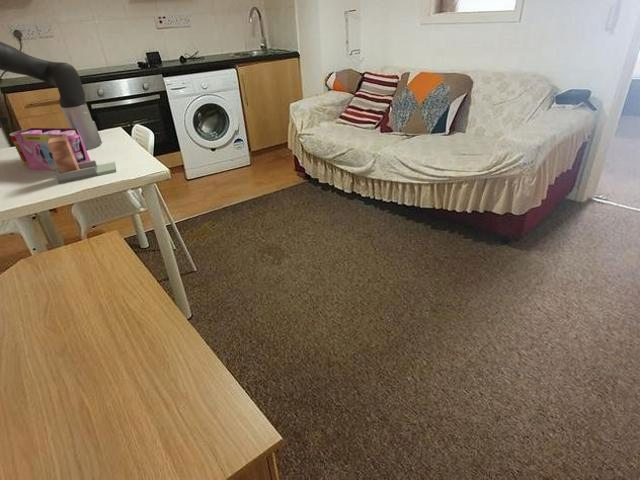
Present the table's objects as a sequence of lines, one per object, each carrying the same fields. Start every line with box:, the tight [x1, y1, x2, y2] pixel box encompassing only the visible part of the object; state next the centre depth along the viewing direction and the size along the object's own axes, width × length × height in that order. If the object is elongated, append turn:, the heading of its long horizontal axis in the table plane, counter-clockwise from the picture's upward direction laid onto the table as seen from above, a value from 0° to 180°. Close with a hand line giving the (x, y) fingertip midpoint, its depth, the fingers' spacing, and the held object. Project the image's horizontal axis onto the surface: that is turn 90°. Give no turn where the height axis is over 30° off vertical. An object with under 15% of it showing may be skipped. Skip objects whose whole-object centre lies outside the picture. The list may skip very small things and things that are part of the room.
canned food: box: [9, 129, 30, 167], centre depth 150 cm, size 8×8×12 cm
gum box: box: [14, 127, 91, 171], centre depth 143 cm, size 24×8×14 cm, turn 73°
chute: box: [54, 159, 117, 184], centre depth 137 cm, size 18×9×3 cm, turn 116°
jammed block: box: [48, 136, 80, 173], centre depth 132 cm, size 5×6×12 cm
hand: (4, 122), depth 121 cm, fingers open, 8 cm apart
